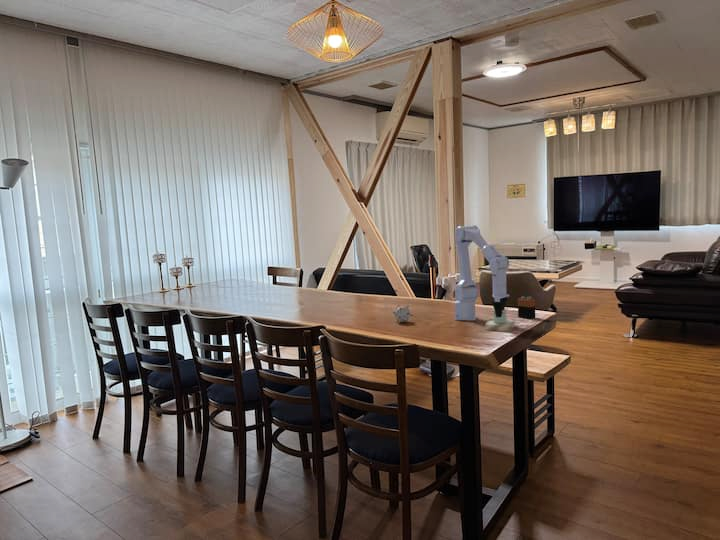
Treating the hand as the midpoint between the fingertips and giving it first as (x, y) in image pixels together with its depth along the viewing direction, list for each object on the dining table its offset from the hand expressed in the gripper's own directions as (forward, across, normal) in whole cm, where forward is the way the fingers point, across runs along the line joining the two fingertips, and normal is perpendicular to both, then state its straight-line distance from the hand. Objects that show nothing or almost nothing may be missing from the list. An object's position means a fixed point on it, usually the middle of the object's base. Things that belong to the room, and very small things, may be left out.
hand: (499, 315), depth 218 cm
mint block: (+3, 0, 0) cm, 3 cm away
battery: (+6, +23, -9) cm, 25 cm away
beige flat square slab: (+6, 0, 0) cm, 6 cm away
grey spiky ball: (+6, +2, +45) cm, 45 cm away
